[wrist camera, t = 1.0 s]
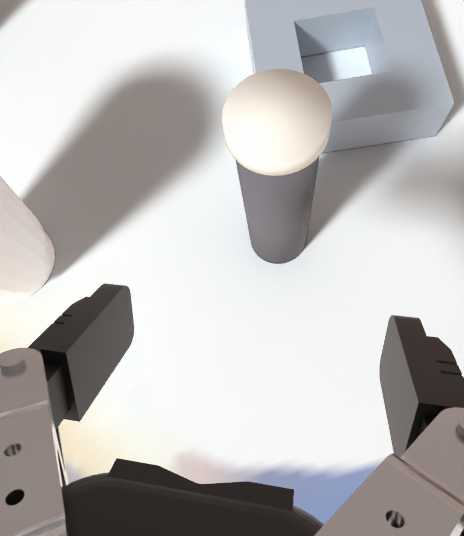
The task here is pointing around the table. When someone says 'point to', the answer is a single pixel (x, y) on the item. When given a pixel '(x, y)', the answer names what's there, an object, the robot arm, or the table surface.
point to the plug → (277, 155)
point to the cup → (21, 249)
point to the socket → (380, 58)
